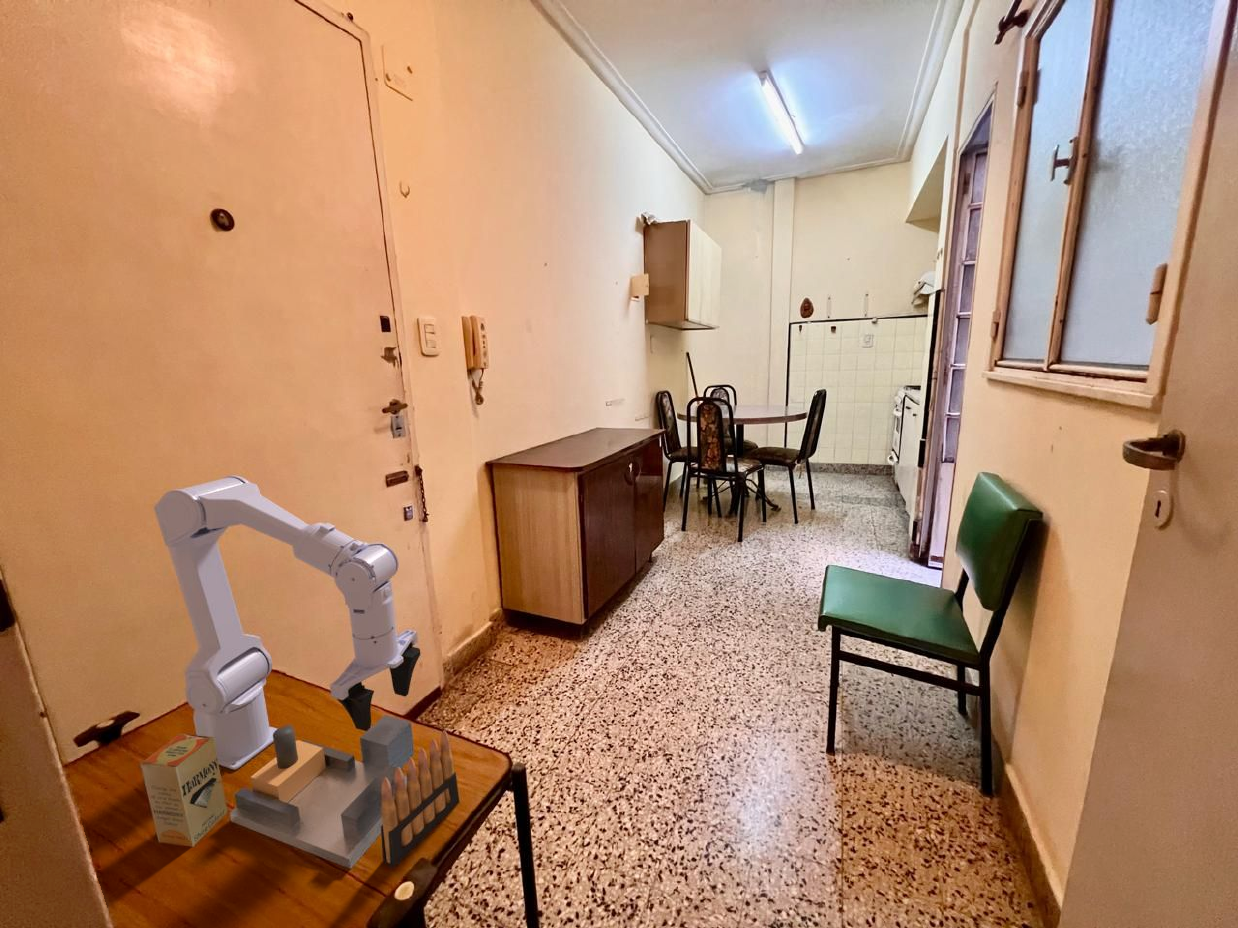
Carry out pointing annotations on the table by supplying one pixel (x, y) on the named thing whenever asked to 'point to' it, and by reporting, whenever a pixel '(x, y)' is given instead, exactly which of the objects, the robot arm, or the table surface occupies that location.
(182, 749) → the shoe polish box
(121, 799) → the table surface
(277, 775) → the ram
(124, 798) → the table surface
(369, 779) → the frame
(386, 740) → the housing
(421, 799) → the ammunition clip
